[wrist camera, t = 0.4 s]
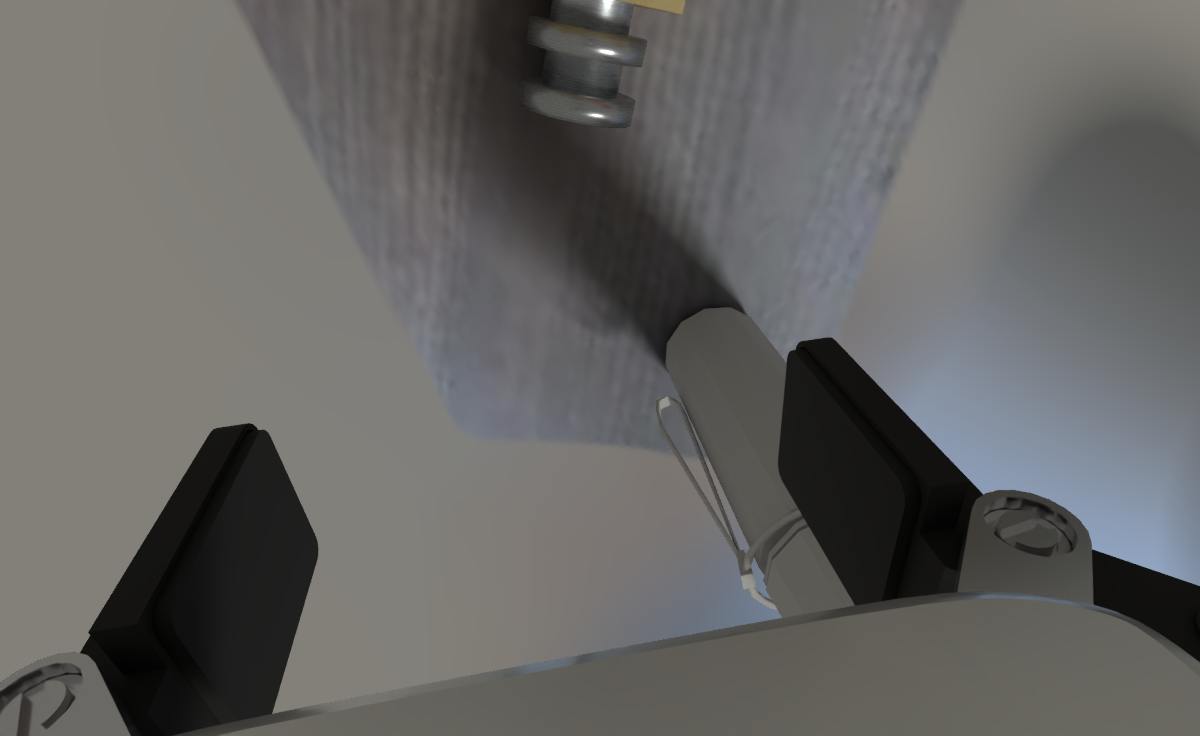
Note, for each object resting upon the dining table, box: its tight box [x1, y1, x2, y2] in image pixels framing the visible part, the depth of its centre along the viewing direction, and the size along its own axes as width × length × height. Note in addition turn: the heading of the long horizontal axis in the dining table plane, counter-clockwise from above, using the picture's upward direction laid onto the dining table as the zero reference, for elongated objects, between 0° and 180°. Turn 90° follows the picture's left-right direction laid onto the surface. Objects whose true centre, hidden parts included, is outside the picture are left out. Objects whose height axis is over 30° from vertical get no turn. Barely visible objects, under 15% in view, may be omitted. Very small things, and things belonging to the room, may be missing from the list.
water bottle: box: [656, 307, 855, 618], centre depth 36 cm, size 9×8×25 cm
